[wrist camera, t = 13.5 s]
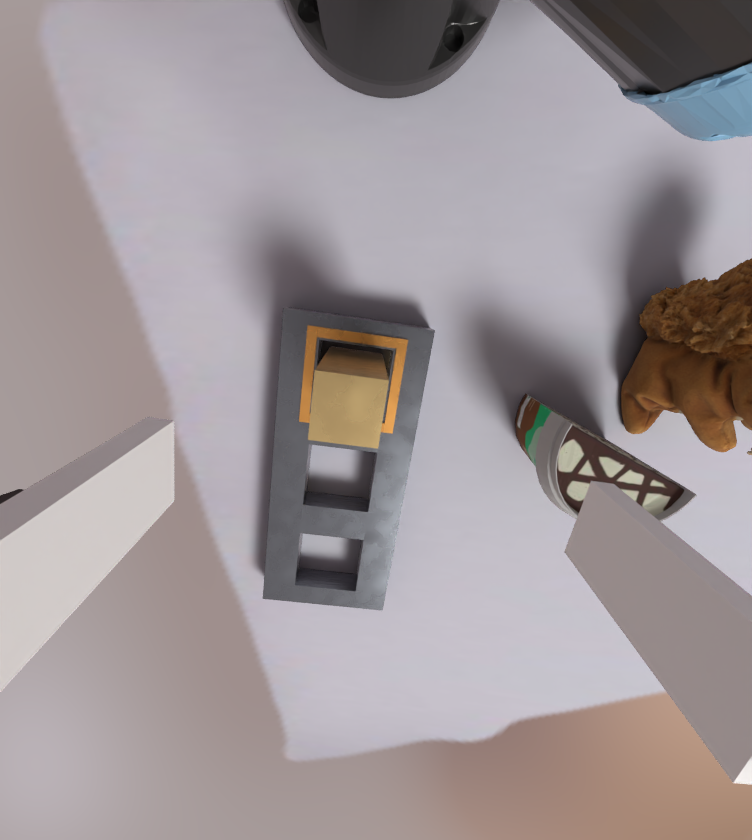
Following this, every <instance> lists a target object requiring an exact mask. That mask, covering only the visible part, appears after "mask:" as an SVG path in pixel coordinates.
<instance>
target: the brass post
mask: <svg viewBox="0 0 752 840" xmlns="http://www.w3.org/2000/svg"><path fill="white" fill-rule="evenodd" d="M388 383H389V379H388V375H387V371H386V367H385V363H384V359H383V355H382V353H376V352H368V351H361V350H354V349H347V348H340V347H333V346H330V348H329V349H328V351H327V352H326V354H325V355H324V357H323V358H322V360H321V361H320V363H319V364H318V366H317V368H316V369H315V372H314V383H313V393H312V403H311V413H310V423H309V433H308V440H313V441H321V442H329V443H337V444H344V445H352V446H360V447H368V448H376V449H378V446H379V440H380V434H381V427H382V421H383V415H384V408H385V402H386V396H387V389H388Z"/></svg>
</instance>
